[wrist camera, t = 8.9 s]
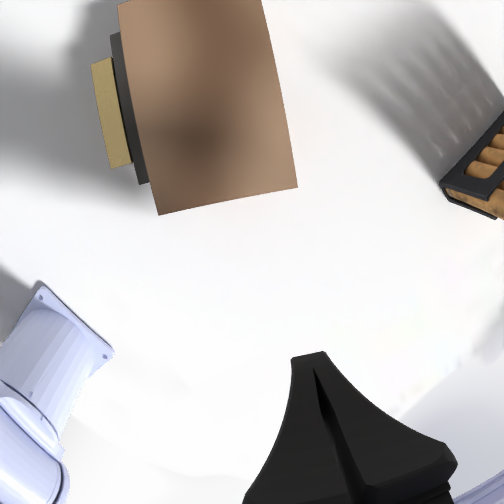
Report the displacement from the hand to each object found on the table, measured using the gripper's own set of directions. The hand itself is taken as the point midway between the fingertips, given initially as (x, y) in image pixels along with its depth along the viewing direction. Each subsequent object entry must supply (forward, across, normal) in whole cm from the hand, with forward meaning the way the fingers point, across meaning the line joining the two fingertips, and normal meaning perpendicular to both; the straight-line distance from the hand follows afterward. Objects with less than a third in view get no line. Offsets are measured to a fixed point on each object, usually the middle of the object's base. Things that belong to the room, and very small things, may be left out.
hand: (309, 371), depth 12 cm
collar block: (+9, +2, -12) cm, 15 cm away
